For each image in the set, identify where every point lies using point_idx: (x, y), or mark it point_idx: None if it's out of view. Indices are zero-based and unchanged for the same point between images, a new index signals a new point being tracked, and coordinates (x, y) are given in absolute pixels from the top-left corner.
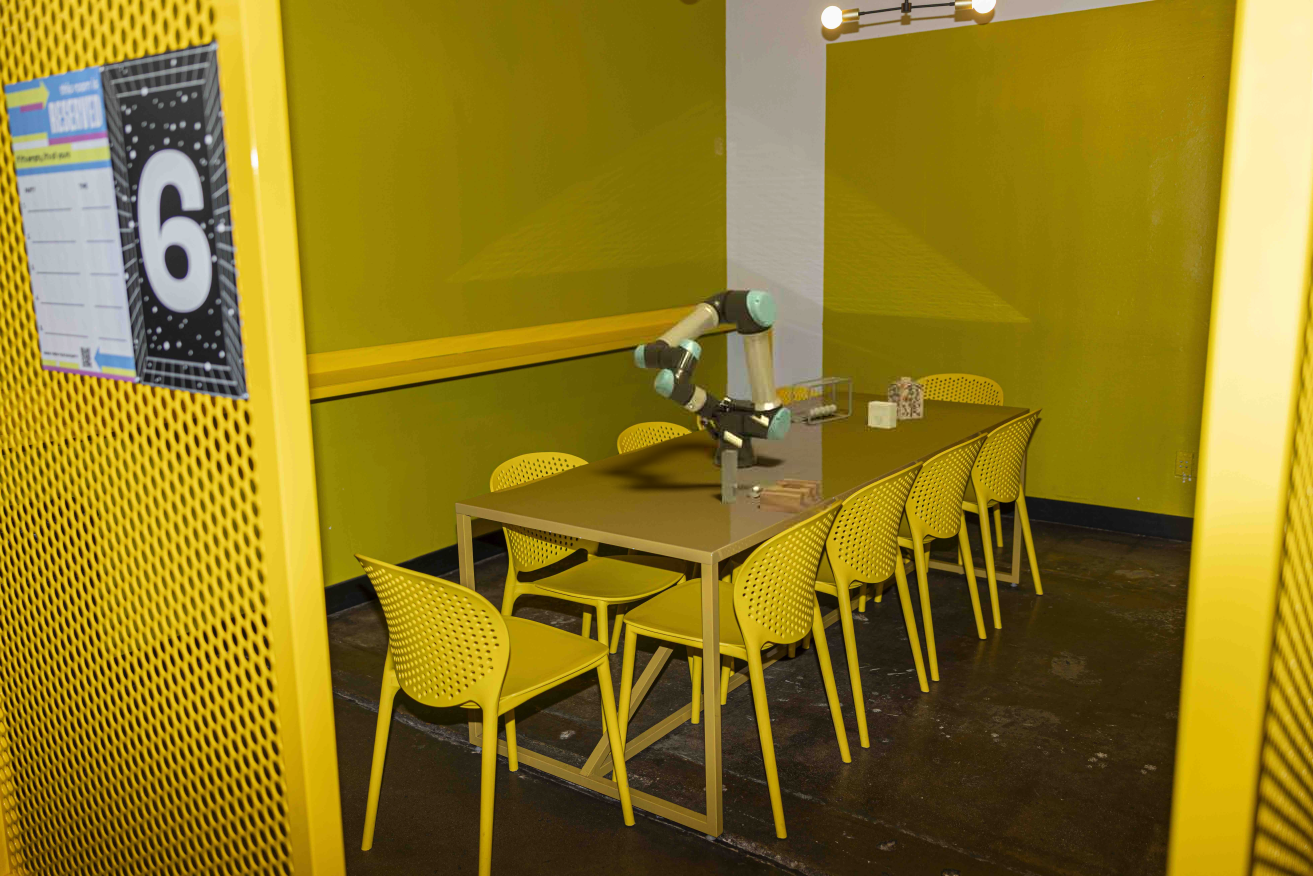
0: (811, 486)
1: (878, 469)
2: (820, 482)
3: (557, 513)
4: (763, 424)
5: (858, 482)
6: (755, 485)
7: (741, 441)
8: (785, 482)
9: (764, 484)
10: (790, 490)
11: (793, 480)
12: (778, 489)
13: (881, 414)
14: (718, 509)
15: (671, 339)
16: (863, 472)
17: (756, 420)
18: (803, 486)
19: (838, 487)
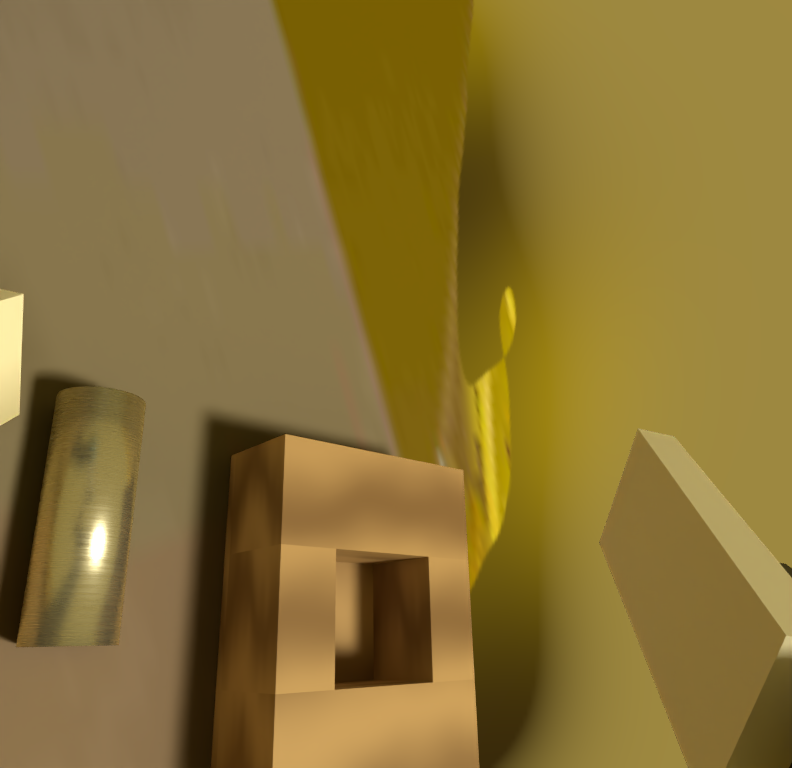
0: (459, 585)
1: (436, 5)
2: (462, 476)
3: None
4: (618, 577)
5: (440, 197)
6: (89, 574)
7: (17, 327)
8: (320, 546)
9: (132, 478)
10: (407, 745)
11: (344, 476)
12: (341, 765)
13: None
14: None
15: None
16: (410, 39)
17: (658, 678)
18: (430, 605)
19: (408, 283)
